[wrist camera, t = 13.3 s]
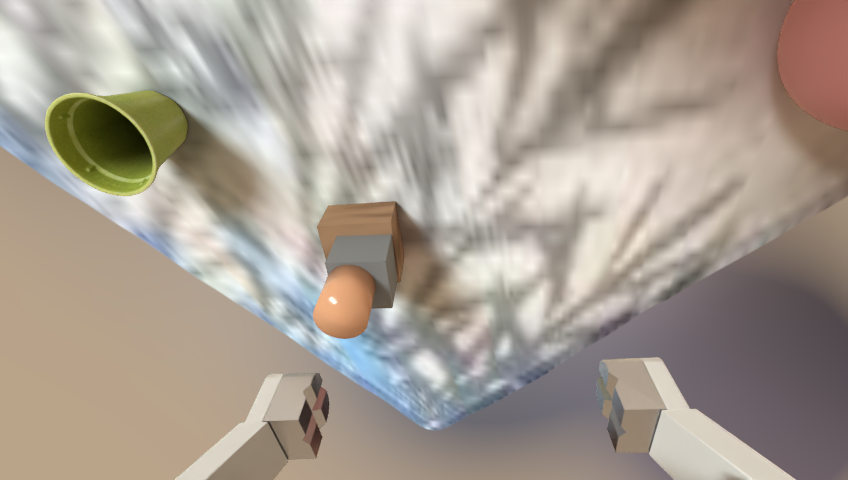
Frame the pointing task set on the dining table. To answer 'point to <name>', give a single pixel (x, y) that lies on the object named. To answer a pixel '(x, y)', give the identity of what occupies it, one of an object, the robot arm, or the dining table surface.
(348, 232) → the tower base
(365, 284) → the terracotta cylinder
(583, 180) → the dining table surface
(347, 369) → the dining table surface
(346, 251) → the tower top
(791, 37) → the balloon
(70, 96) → the plant pot
